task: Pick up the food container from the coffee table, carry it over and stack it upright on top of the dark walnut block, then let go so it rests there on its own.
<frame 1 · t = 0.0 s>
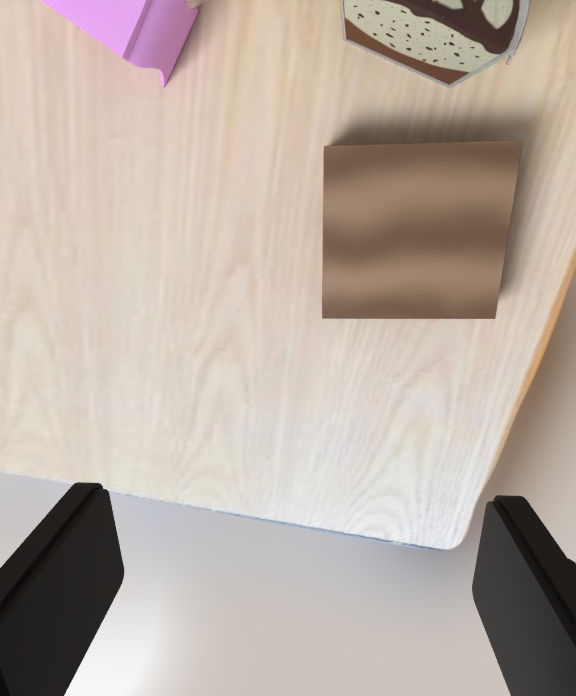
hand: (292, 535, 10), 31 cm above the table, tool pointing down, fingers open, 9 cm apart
food container: (414, 22, 32), on the table
walnut block: (404, 233, 38), on the table
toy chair: (140, 21, 33), on the table
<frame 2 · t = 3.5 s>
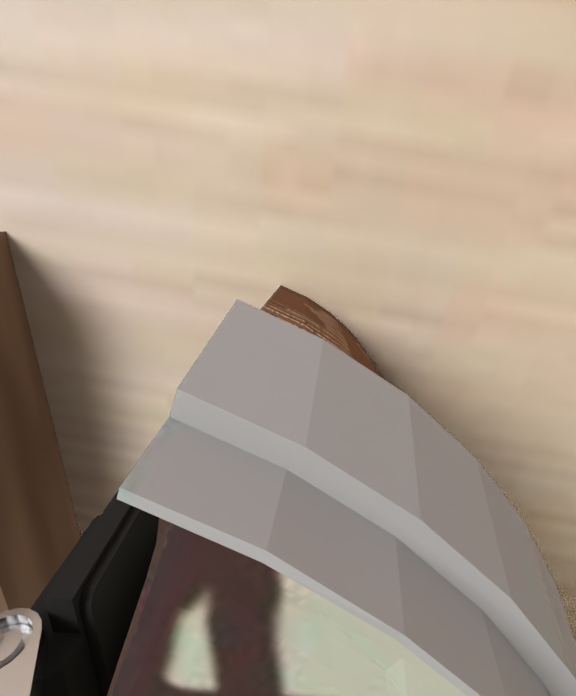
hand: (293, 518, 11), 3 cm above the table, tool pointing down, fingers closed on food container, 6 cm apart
food container: (320, 447, 14), on the table, touching gripper
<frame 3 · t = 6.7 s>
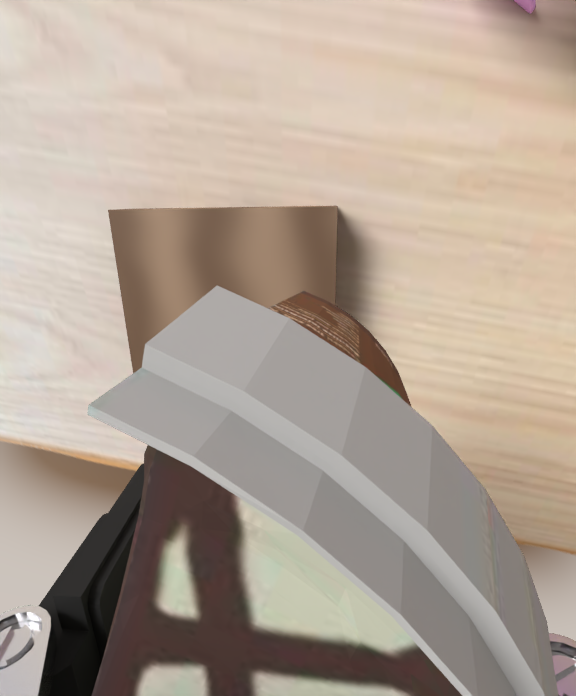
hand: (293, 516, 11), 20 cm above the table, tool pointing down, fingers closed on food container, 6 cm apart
food container: (346, 448, 14), point 17 cm above the table, touching gripper
walnut block: (240, 312, 31), on the table
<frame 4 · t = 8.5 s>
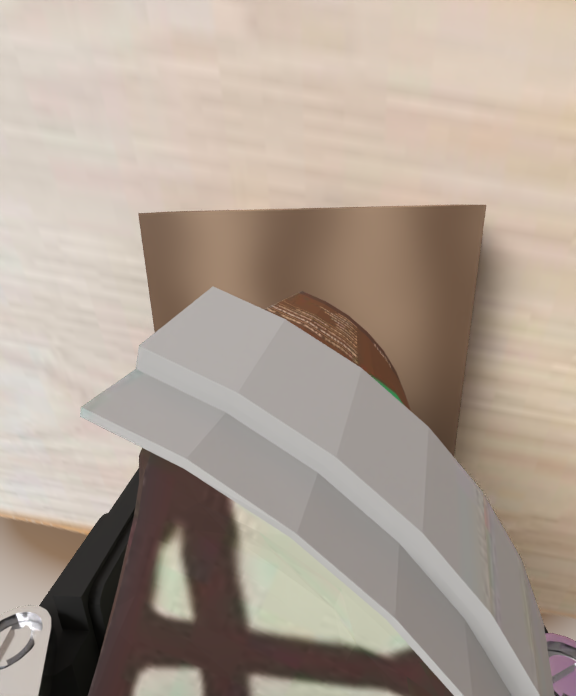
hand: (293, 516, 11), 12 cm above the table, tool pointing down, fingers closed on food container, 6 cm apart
food container: (345, 448, 14), point 9 cm above the table, touching gripper
walnut block: (310, 350, 23), on the table
when the fingers open (8 cm above the table, at t = 9.8 s): food container moves 1 cm, point 4 cm above the table.
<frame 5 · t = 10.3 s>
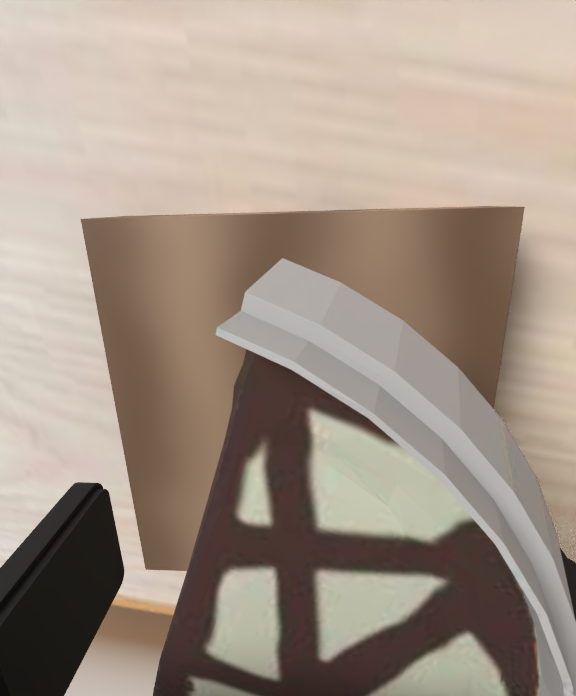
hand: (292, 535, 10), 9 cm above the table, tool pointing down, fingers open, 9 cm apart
food container: (368, 432, 15), point 4 cm above the table
walnut block: (302, 380, 19), on the table
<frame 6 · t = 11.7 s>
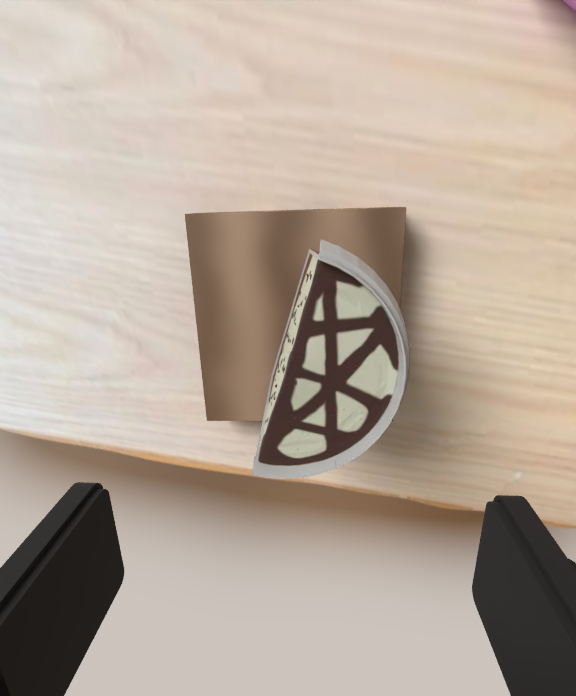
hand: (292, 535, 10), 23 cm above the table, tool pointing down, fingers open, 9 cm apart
food container: (332, 326, 28), point 3 cm above the table, touching walnut block
walnut block: (298, 310, 32), on the table, touching food container
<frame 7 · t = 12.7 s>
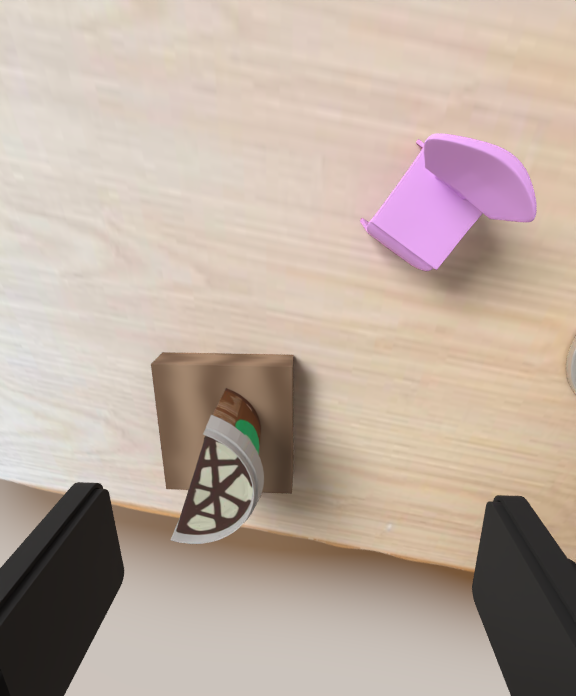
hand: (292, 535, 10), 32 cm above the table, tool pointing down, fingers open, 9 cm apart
food container: (242, 434, 43), point 3 cm above the table, touching walnut block
walnut block: (231, 413, 47), on the table, touching food container
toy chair: (412, 204, 38), on the table
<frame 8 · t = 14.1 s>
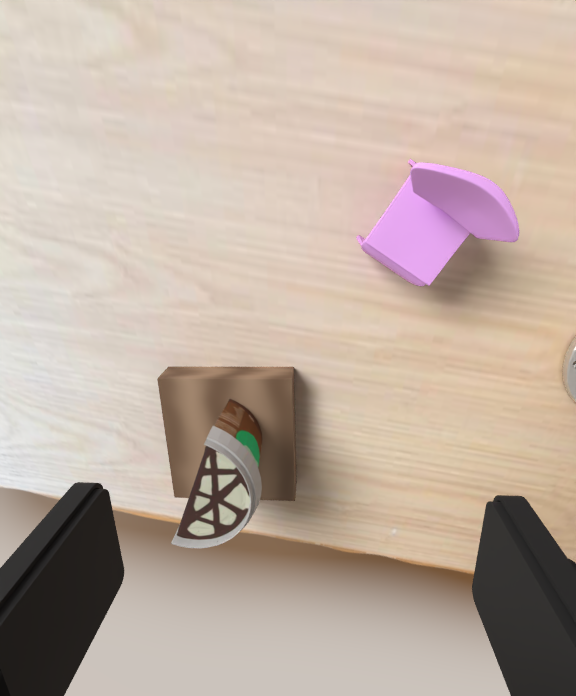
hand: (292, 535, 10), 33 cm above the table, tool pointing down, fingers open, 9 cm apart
food container: (244, 443, 45), point 3 cm above the table, touching walnut block
walnut block: (236, 423, 48), on the table, touching food container
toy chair: (406, 220, 39), on the table
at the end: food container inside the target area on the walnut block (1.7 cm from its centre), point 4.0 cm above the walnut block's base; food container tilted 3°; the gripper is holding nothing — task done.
